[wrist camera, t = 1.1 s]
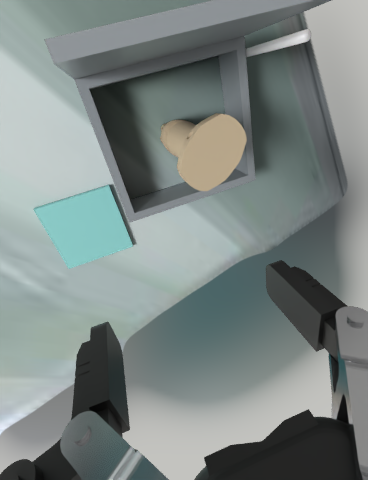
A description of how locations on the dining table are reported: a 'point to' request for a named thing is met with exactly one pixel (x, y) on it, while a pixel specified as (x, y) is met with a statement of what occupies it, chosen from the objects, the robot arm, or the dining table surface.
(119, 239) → the pad
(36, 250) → the dining table surface
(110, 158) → the case
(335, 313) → the robot arm
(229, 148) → the handle
